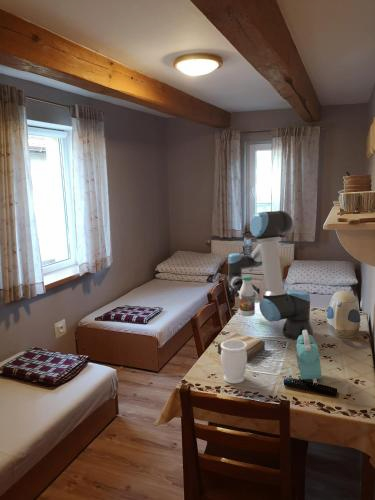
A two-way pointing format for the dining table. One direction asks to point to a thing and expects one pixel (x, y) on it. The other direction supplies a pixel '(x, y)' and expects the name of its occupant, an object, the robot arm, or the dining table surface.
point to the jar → (233, 360)
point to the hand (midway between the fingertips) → (249, 296)
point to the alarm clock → (308, 357)
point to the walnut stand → (252, 343)
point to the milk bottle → (247, 297)
